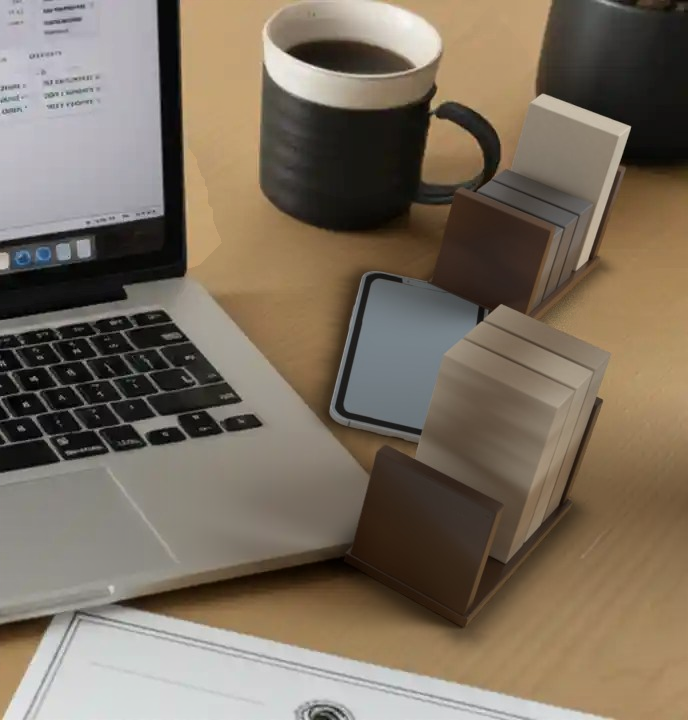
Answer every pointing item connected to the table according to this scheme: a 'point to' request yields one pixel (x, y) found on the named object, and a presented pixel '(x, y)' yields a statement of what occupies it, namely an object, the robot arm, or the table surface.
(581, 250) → the beige rectangular block
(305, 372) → the table surface
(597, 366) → the brown book rack
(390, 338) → the smartphone
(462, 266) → the brown coaster holder
